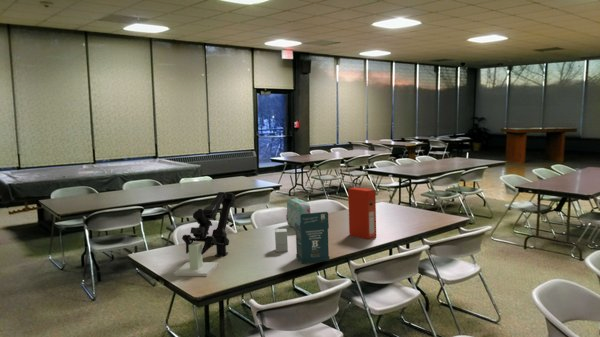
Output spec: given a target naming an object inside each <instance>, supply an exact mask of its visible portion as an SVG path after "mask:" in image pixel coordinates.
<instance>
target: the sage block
mask: <svg viewBox="0 0 600 337" xmlns="http://www.w3.org/2000/svg"><path fill="white" fill-rule="evenodd" d="M202 249H203V244H202V242H193V243H192V244H190V245H189V252H188V256H189V257H188V258H189V262H190V269H200V268H201V267H203V262H204V261H203V260H204V259H203V258H204V257H203V255H202V254H201V252H202Z"/></svg>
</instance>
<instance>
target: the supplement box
mask: <svg viewBox="0 0 600 337" xmlns="http://www.w3.org/2000/svg"><path fill="white" fill-rule="evenodd" d="M274 238H275V239H274V240H275V252H276V253H284V252H288V251H289V250H288V249H289V246H288V231H287V228H277V229H274Z"/></svg>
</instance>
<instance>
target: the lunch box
mask: <svg viewBox="0 0 600 337" xmlns="http://www.w3.org/2000/svg"><path fill="white" fill-rule="evenodd" d="M308 213H311V206H310V204H309V203H308V202H307V201H305V200H302V199H300V198H298V197H294V198H290V199H288V200H287V202H286V217H285V218H286V223H287V225H288V226H289V227H291V228H293V229H295V230H296V227H295V222H297V221H300V220H301V214H308Z"/></svg>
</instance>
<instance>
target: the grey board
mask: <svg viewBox="0 0 600 337" xmlns="http://www.w3.org/2000/svg"><path fill="white" fill-rule="evenodd" d="M218 266H219V262H215V261H214V262H211V261H210V262H209V261H208V262H206V261H203V267H201V268H200V269H190V261H187V262H185V263H184V264H183V265H182V266H180V268H178V269H177V270H176V271H174V272H173V276H175V277H208V276H209V275H210V274H211V273H212V272H213V271H214V270H215V269H216V268H217V267H218Z"/></svg>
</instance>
